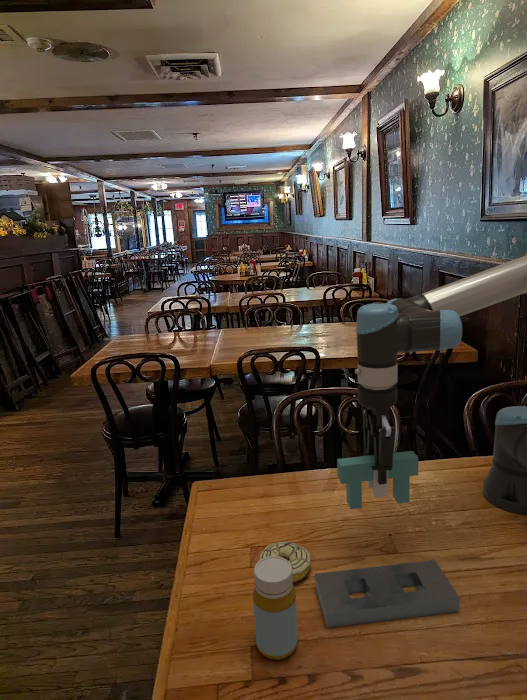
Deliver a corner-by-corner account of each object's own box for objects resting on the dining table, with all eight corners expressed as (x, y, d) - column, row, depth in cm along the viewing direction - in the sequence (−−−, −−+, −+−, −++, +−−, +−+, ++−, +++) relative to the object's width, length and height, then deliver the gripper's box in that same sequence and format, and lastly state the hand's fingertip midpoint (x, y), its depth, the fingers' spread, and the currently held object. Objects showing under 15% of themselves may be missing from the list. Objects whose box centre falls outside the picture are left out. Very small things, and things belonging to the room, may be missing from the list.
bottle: (294, 665, 78) (291, 586, 74) (252, 659, 79) (246, 582, 75) (300, 629, 84) (297, 556, 80) (260, 625, 86) (256, 552, 82)
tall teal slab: (411, 493, 103) (412, 450, 101) (417, 501, 100) (418, 457, 98) (338, 502, 102) (337, 459, 99) (341, 510, 99) (340, 466, 96)
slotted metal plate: (434, 572, 96) (434, 559, 95) (458, 611, 86) (459, 597, 86) (315, 586, 94) (314, 573, 93) (326, 628, 84) (326, 613, 84)
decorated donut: (297, 547, 106) (297, 532, 105) (320, 578, 96) (319, 562, 95) (252, 560, 103) (251, 544, 102) (271, 594, 93) (270, 578, 92)
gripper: (347, 373, 102) (349, 473, 108) (371, 400, 86) (372, 515, 92) (382, 370, 102) (382, 469, 108) (412, 396, 87) (410, 510, 93)
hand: (377, 490), depth 100 cm, fingers closed on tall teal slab, 3 cm apart
